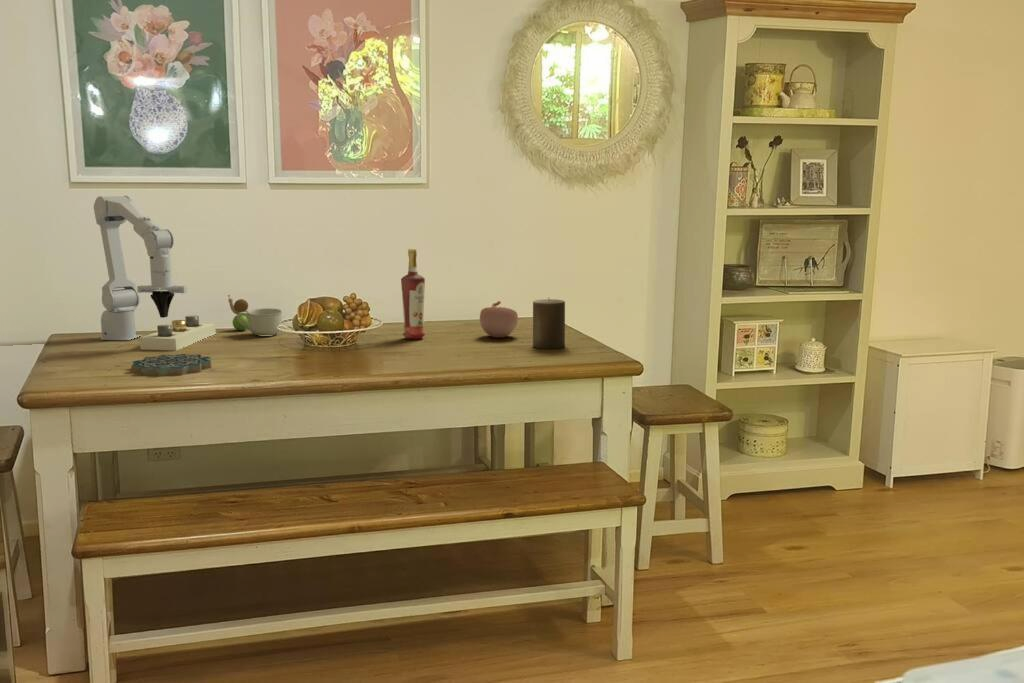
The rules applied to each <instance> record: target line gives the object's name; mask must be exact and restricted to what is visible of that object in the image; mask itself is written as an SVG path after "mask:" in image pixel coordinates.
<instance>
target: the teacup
mask: <svg viewBox="0 0 1024 683" xmlns="http://www.w3.org/2000/svg"><path fill="white" fill-rule="evenodd" d="M241 315H245V316H246V317H247V320H248V324H245V323H244V322H243V321H242V320H241V319H240V317H241ZM237 320H238V322H239V323H240V324H241V325H243V326H245V327H246V328H247V329H246V330H248V331H250V332H251V333H252V335H254V336H256V335H274V334H276V335H277V334H278V333H280V331H281V330H279V329H277V326H278V325H279V324H281V323H282V324H283V310H282V309H280V308H272V307H271V308H270V307H267V308H266V307H265V308H264V307H263V308H254V309H253V308H252V309H251V310H250V309H249V310H248V312H247V313H246V312H240V313H239V314H238V316H237ZM274 336H275V335H274Z"/></svg>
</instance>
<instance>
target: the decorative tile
mask: <svg viewBox="0 0 1024 683" xmlns="http://www.w3.org/2000/svg"><path fill="white" fill-rule="evenodd" d="M207 369H208V370H209V369H212V357H211V356H202V355H201V354H187V353H186V354H185V353H181V354H162V355H161V354H160V355H158V356H146V357H144V358H143V359H139V360H138V359H137V360H133V361H132V364H131V373H133V374H136V373H137V374H140V375H141V376H155V377H156V376H157V377H164V376H184V375H187V374H190V373H201V372H202V370H207Z"/></svg>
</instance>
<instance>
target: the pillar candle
mask: <svg viewBox="0 0 1024 683" xmlns="http://www.w3.org/2000/svg"><path fill="white" fill-rule="evenodd" d="M565 315H566V301H565V300H563V299H550V298H548V299H535V300H533V301H532V347H533V348H538V349H541V350H542V349H544V350H553V349H554V350H555V349H562V348H565V346H566V316H565Z"/></svg>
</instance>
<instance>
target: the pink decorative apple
mask: <svg viewBox="0 0 1024 683" xmlns="http://www.w3.org/2000/svg"><path fill="white" fill-rule="evenodd" d="M501 303H502V302H501V300H498V301H497V302H494V303H492V304H491V306H489V307H484V308H482V309H481V310H480V313H479V314H480V315H479V323H480V326H481V328H482V330H483V332H484V333H485V334H487V335H489V336H491V337H493V338H497V339H498V338H499V339H500V338H501V339H502V338H505V337H507V336H510V335H511V334H512V333H513V332H515V330H516V328H517V326H518V320H519V316H518V315H519V314H518V313H517V311H516V310H515V309H512V308H509V307H505V306H499V305H501Z"/></svg>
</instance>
